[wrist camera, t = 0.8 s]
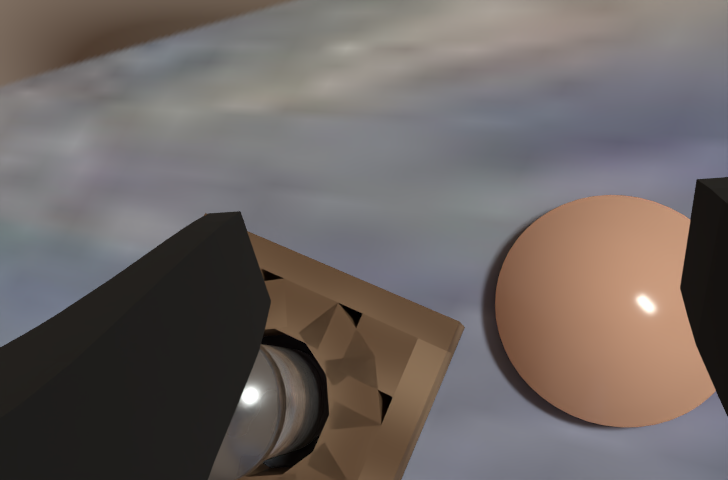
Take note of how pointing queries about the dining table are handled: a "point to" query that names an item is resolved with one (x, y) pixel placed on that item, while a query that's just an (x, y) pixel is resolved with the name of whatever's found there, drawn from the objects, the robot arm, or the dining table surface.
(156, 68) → the dining table surface
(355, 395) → the housing
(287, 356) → the end cover
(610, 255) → the dish
